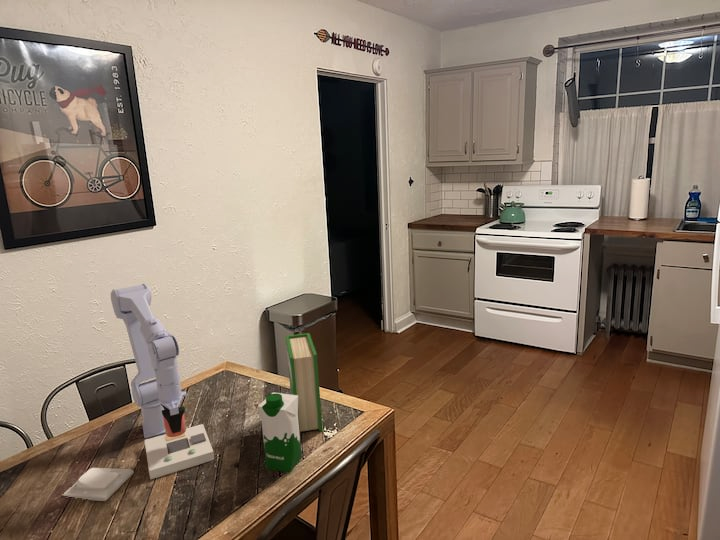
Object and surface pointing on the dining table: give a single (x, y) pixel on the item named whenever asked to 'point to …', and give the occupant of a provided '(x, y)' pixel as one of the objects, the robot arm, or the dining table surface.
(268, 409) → the milk carton
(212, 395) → the dining table surface
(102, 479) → the light switch
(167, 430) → the cap
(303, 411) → the hardback book
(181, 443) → the button
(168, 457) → the panel
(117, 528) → the dining table surface
